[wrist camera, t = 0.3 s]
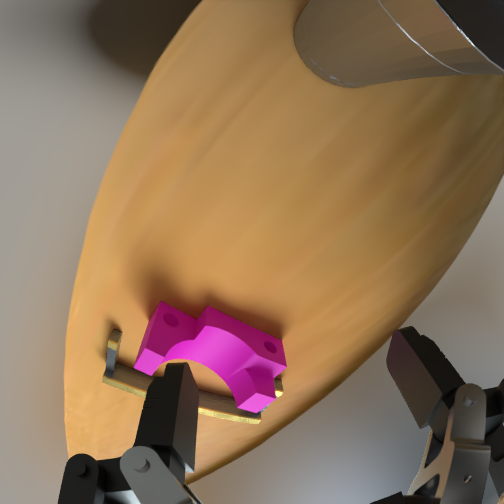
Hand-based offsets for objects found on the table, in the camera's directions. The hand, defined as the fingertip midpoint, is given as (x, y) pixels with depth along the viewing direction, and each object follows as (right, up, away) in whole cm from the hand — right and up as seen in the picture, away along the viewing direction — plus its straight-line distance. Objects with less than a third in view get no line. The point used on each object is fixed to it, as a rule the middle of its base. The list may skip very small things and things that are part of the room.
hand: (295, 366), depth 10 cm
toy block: (-6, -5, +22) cm, 24 cm away
